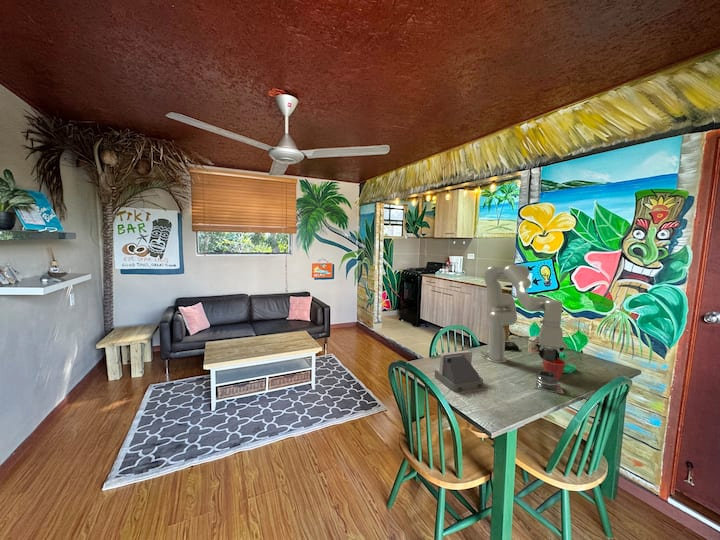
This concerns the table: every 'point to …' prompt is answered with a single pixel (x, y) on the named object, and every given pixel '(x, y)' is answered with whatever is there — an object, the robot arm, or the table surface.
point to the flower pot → (554, 367)
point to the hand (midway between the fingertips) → (548, 357)
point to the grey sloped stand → (458, 371)
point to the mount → (568, 367)
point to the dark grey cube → (549, 354)
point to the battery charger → (511, 346)
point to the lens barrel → (547, 382)
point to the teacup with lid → (533, 345)
